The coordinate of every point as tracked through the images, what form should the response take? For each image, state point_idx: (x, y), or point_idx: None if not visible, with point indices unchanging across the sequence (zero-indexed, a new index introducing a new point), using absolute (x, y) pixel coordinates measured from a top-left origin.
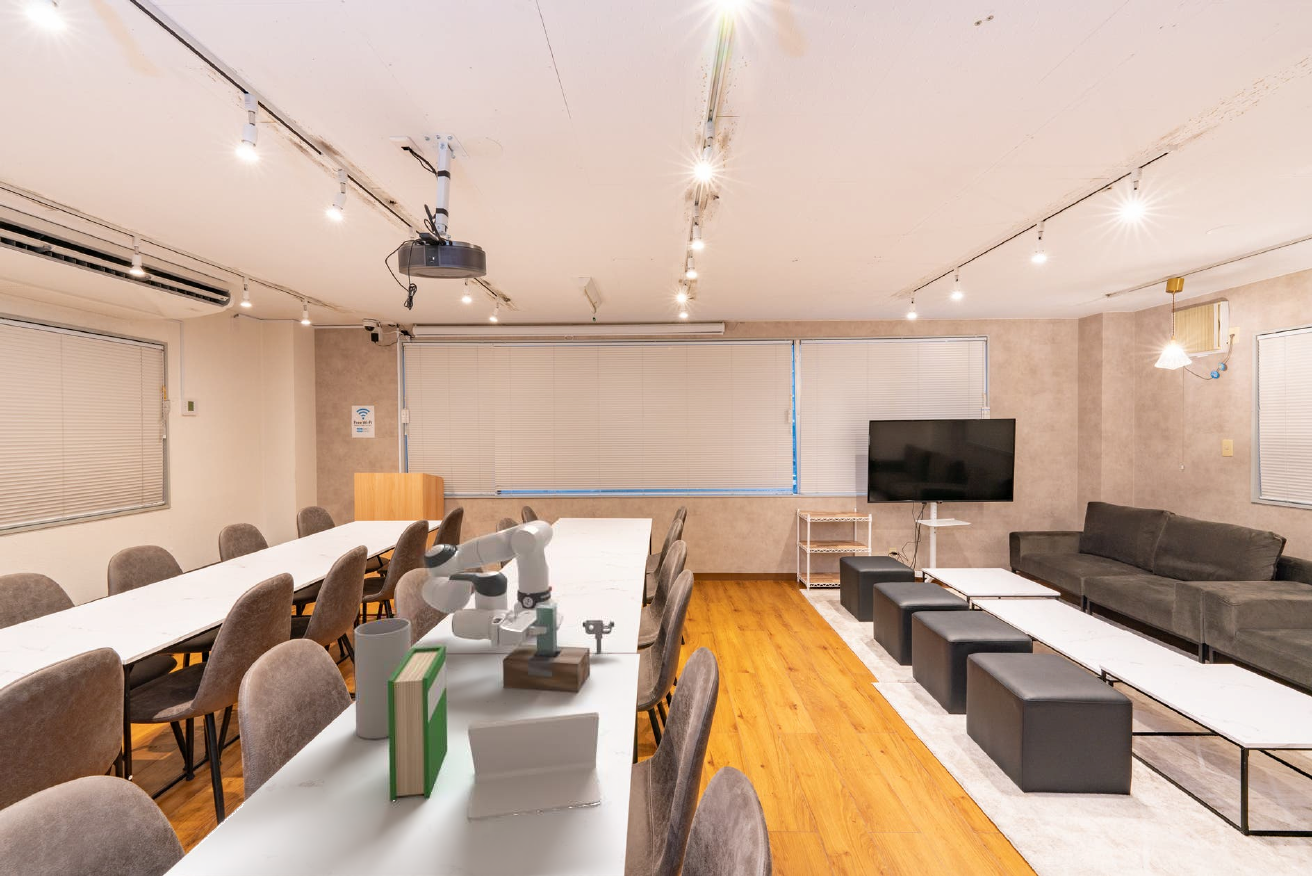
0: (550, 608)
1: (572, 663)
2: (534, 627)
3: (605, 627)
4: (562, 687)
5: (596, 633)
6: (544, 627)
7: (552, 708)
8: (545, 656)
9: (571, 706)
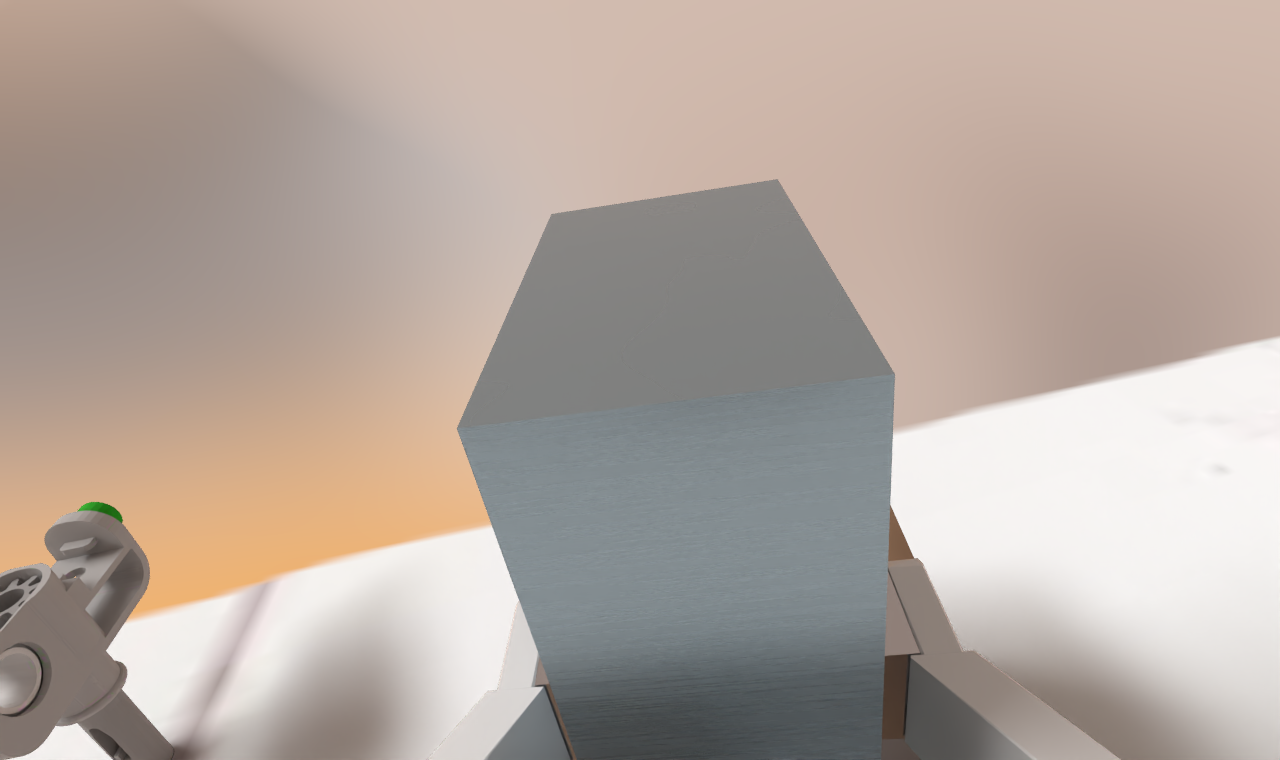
0: (780, 195)
1: (903, 537)
2: (1080, 753)
3: (93, 573)
4: None
5: (87, 666)
6: (916, 569)
7: (1223, 738)
8: None
9: (1090, 627)
